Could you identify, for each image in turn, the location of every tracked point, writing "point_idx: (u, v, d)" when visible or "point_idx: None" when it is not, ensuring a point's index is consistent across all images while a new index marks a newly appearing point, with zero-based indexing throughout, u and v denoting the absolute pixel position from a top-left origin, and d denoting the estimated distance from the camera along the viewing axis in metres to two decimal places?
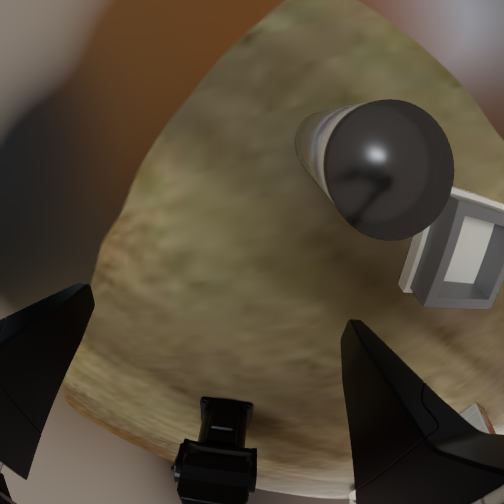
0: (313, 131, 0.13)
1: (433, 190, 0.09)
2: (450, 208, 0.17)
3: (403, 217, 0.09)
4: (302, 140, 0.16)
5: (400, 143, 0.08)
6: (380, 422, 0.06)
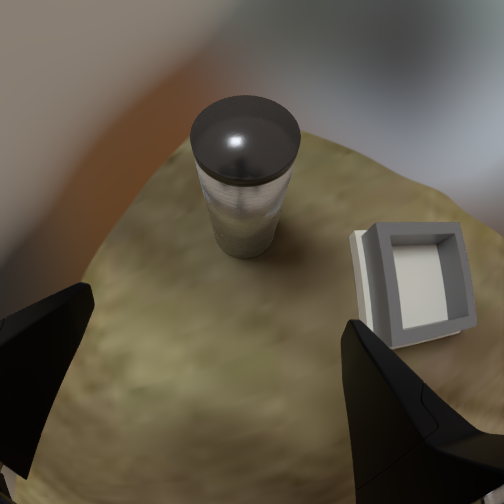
0: None
1: (282, 136, 0.12)
2: (373, 237, 0.20)
3: (261, 157, 0.12)
4: None
5: (242, 115, 0.13)
6: (380, 422, 0.06)
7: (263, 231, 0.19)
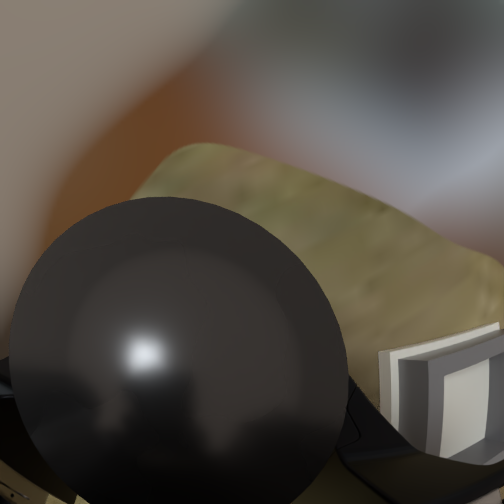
0: None
1: (281, 408, 0.03)
2: (419, 377, 0.11)
3: (204, 491, 0.03)
4: None
5: (136, 305, 0.03)
6: None
7: None
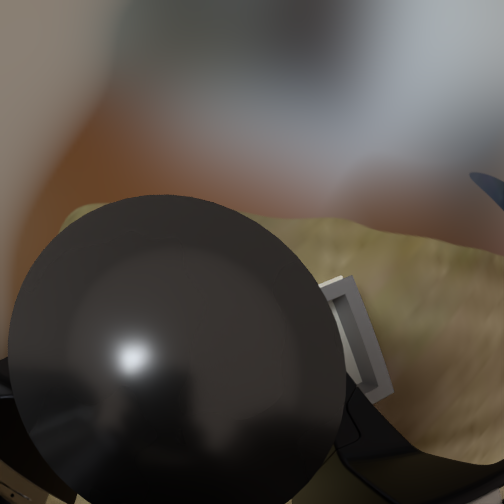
0: None
1: (279, 405, 0.03)
2: None
3: (202, 489, 0.03)
4: None
5: (134, 302, 0.03)
6: None
7: None
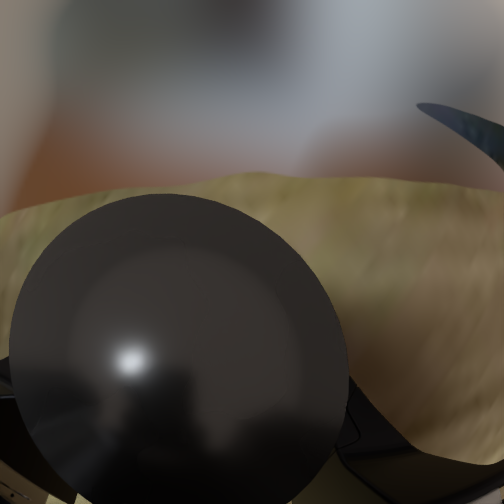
0: None
1: (282, 404, 0.03)
2: None
3: (205, 488, 0.03)
4: None
5: (136, 302, 0.03)
6: None
7: None
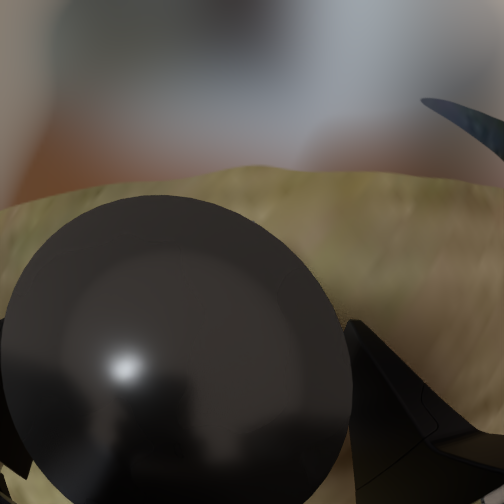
0: None
1: (282, 418, 0.03)
2: None
3: (201, 502, 0.02)
4: None
5: (129, 309, 0.03)
6: (380, 422, 0.06)
7: None
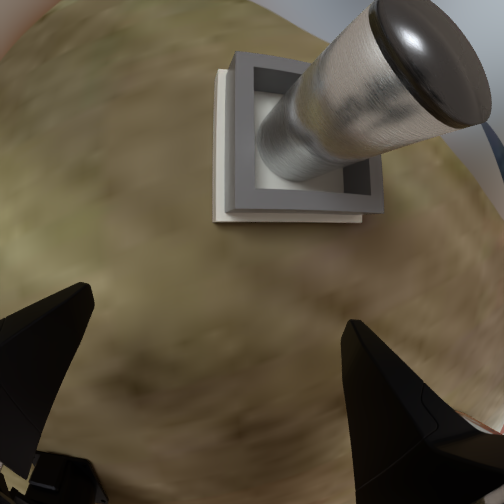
0: None
1: (478, 90, 0.06)
2: (232, 70, 0.14)
3: (458, 91, 0.05)
4: (289, 89, 0.12)
5: (446, 32, 0.05)
6: (380, 422, 0.06)
7: (340, 163, 0.12)
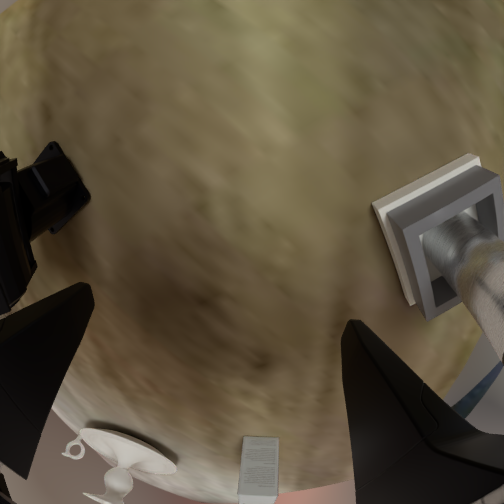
0: None
1: None
2: (484, 176, 0.15)
3: None
4: (489, 233, 0.14)
5: None
6: (380, 422, 0.06)
7: (455, 287, 0.15)
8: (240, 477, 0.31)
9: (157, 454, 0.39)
